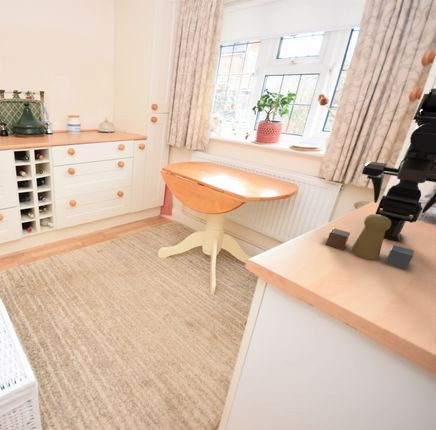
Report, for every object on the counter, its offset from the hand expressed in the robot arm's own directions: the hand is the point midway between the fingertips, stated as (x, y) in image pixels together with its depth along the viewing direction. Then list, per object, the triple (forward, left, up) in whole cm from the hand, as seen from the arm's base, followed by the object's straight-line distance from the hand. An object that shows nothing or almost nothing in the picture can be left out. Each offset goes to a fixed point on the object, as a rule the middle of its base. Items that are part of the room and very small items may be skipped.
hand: (398, 207), depth 75 cm
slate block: (+5, +4, -13) cm, 14 cm away
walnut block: (+5, -9, -13) cm, 17 cm away
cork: (+5, -3, -13) cm, 14 cm away
